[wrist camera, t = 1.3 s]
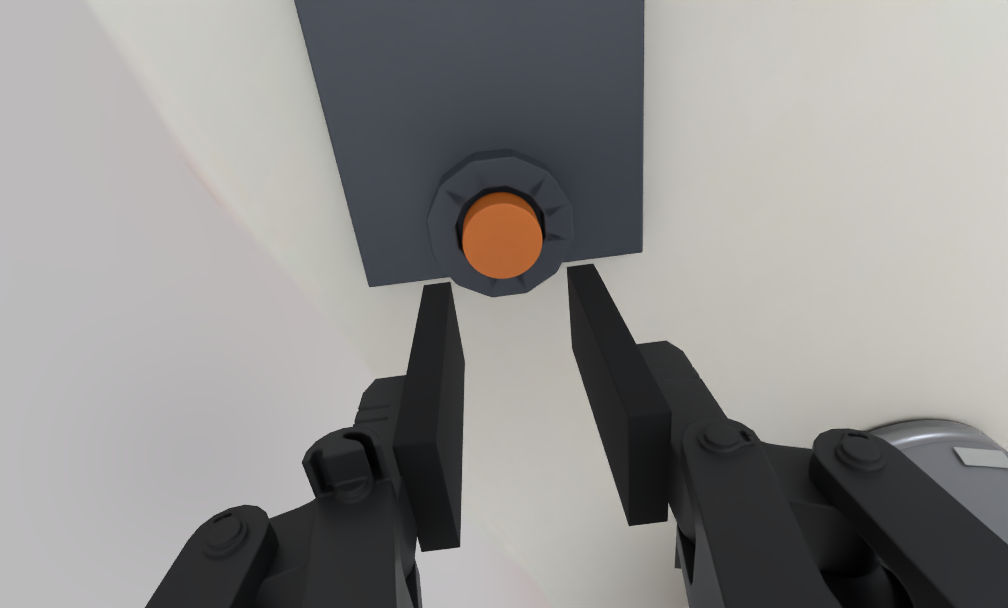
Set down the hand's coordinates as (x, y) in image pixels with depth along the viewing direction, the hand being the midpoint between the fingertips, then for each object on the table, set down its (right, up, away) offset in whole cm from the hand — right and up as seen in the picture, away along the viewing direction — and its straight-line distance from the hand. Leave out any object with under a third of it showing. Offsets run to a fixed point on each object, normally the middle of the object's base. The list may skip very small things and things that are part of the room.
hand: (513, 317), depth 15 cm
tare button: (0, +4, +7) cm, 8 cm away
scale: (-1, +10, +7) cm, 12 cm away
